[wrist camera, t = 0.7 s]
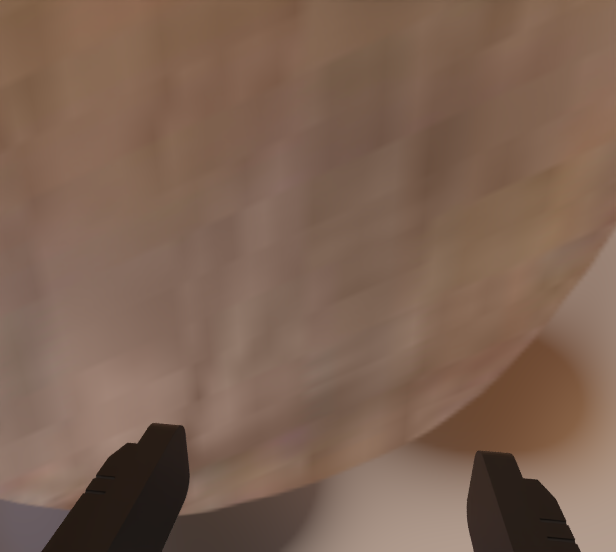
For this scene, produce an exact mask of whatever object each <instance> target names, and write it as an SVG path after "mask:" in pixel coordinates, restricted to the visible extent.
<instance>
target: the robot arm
mask: <svg viewBox="0 0 616 552" xmlns="http://www.w3.org/2000/svg"><path fill="white" fill-rule="evenodd" d="M189 478H190V473H189V463H188V453H187V444H186V434H185V429H184V427H183V426H181V425H170V424H159V423H152V424H151V425H150V426H149V427H148V428H147V430H146V432H145V433H144V435H143V436H142V438H141V439H140V441H139V442H138V444H136V443H127V444H125V445H124V446H123V447H121V448H120V449H119V450H118V451H116V452H115V453H114V454H112V455H111V456H110V457H109V458H108V459H107V460H106V462H105V463H104V465H103V466H102V467H101V469H100V470H99V472H98V473H97V474H96V478H94V479H93V480H92V481H91V483H90V484H89V486H88V487H87V488H86V492H85V494H84V493H83V494H82V496H81V497H80V498H79V500H78V501H77V503H76V504H75V505H74V507H73V508H72V510H71V511H70V512H69V514H68V515H67V517H66V518H65V519H64V521H63V522H62V524H61V525H60V526H59V528H58V529H57V531H56V532H55V534H54V535H53V536H52V538H51V539H50V540H49V542H48V543H47V545H46V546H45V547H44V549H43V550H42V552H162V550H163V548H164V545H165V543H166V541H167V539H168V536H169V534H170V532H171V530H172V528H173V525H174V523H175V521H176V519H177V517H178V514H179V512H180V510H181V508H182V505H183V503H184V501H185V498H186V495H187V491H188V486H189ZM467 522H468V528H469V533H470V536H471V541H472V545H473V549H474V552H581V551H580V549H579V547H578V545H577V544H575V538H574V536H573V534H572V532H571V530H570V528H569V526H568V525H567V524H566V519H565V517H564V515H563V513H562V511H561V509H560V507H559V505H558V502H557V500H556V499H555V498H554V497H553V496H552V495H551V493H550V492H549V491H548V490H547V489H546V488H545V487H544V486H543V485H542V484H541V483H540V482H539V481H538V480H535V479H525V478H523V477H522V475H521V472H520V470H519V468H518V465H517V463H516V460H515V458H514V456H513V455H512V454H510V453H501V452H489V451H477V452H476V455H475V459H474V465H473V470H472V476H471V481H470V487H469V493H468V498H467Z"/></svg>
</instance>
